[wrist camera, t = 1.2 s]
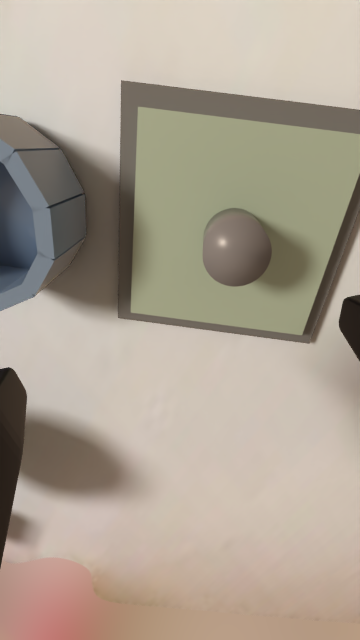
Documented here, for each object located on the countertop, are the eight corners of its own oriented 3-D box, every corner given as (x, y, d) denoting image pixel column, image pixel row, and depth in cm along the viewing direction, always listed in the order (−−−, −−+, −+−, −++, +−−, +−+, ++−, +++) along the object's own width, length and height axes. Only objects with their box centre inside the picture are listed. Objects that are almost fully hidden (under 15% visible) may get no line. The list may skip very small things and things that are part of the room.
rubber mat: (388, 115, 15) (395, 114, 15) (306, 338, 22) (309, 343, 21) (124, 82, 15) (121, 80, 15) (120, 313, 22) (118, 317, 21)
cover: (365, 136, 15) (409, 134, 12) (298, 328, 21) (316, 364, 17) (141, 108, 15) (122, 98, 12) (133, 306, 21) (119, 337, 18)
